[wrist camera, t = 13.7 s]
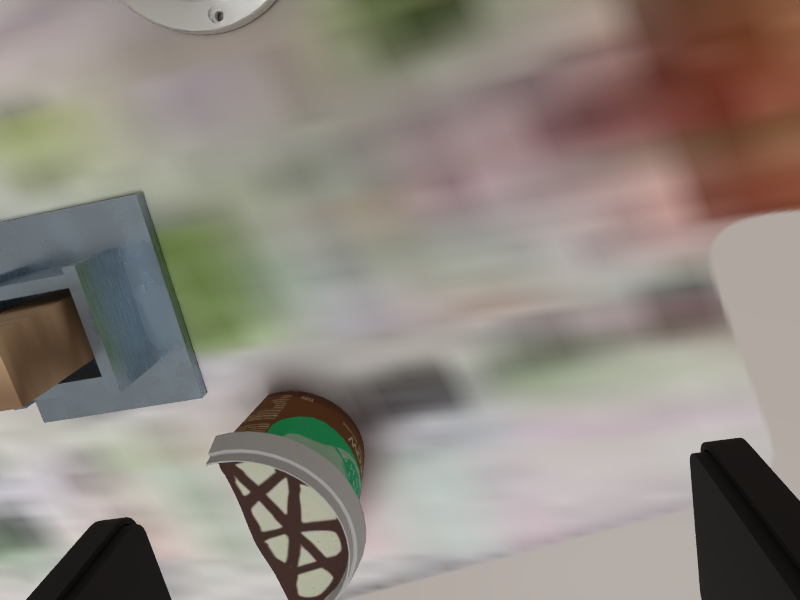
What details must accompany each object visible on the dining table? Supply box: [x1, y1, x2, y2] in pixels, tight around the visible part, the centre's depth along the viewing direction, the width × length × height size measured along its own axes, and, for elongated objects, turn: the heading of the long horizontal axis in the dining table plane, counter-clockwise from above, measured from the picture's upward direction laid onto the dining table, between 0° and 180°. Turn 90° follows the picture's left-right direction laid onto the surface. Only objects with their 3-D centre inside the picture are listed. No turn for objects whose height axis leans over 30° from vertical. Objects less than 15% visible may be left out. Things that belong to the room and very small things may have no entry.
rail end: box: [0, 288, 95, 411], centre depth 35 cm, size 4×4×10 cm
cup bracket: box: [0, 193, 207, 423], centre depth 38 cm, size 14×12×5 cm
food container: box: [206, 391, 366, 600], centre depth 37 cm, size 12×6×10 cm, turn 20°
